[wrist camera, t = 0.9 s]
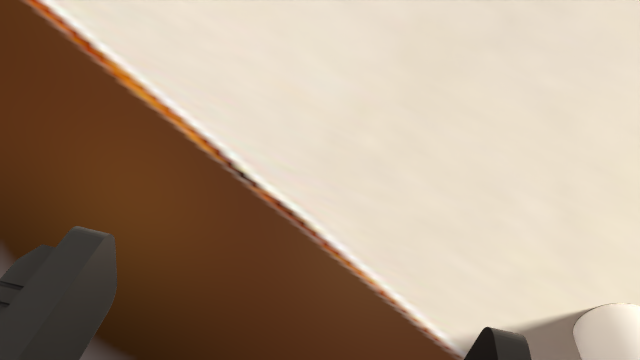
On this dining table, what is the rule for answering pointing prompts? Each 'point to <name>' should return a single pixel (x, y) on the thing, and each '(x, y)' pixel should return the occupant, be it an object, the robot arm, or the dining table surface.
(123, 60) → the dining table surface
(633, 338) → the cylindrical container
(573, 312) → the dining table surface
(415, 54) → the dining table surface
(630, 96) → the dining table surface
